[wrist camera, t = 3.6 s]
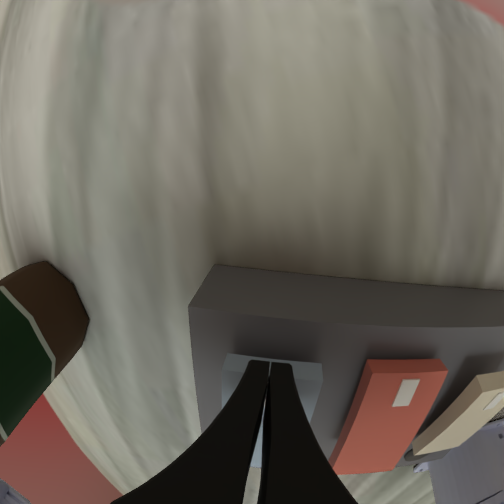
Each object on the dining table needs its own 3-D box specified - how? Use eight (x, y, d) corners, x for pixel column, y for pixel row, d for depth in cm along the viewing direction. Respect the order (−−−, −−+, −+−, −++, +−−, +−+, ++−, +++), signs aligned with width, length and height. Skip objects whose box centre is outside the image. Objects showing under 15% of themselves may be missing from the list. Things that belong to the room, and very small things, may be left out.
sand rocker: (520, 367, 8) (527, 383, 7) (455, 434, 12) (458, 447, 11) (476, 375, 9) (483, 394, 8) (411, 441, 12) (413, 457, 11)
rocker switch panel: (504, 290, 12) (539, 326, 9) (431, 422, 17) (442, 460, 13) (214, 264, 14) (186, 308, 11) (218, 417, 19) (205, 461, 15)
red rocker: (439, 358, 10) (449, 371, 9) (388, 457, 11) (392, 471, 10) (366, 359, 10) (373, 374, 9) (328, 461, 12) (329, 476, 11)
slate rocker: (321, 362, 10) (323, 382, 9) (293, 455, 12) (292, 471, 11) (227, 353, 10) (221, 371, 9) (226, 447, 13) (222, 463, 12)
